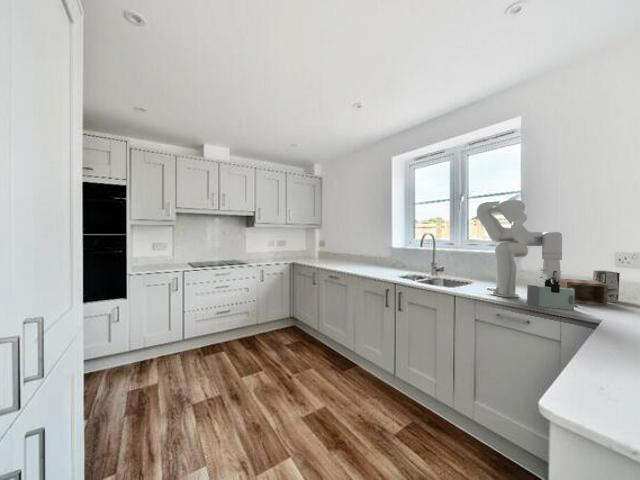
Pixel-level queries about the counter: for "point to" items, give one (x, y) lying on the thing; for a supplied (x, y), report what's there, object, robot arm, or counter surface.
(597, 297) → the cabinet
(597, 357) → the counter surface
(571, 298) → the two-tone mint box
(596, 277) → the coffee box
